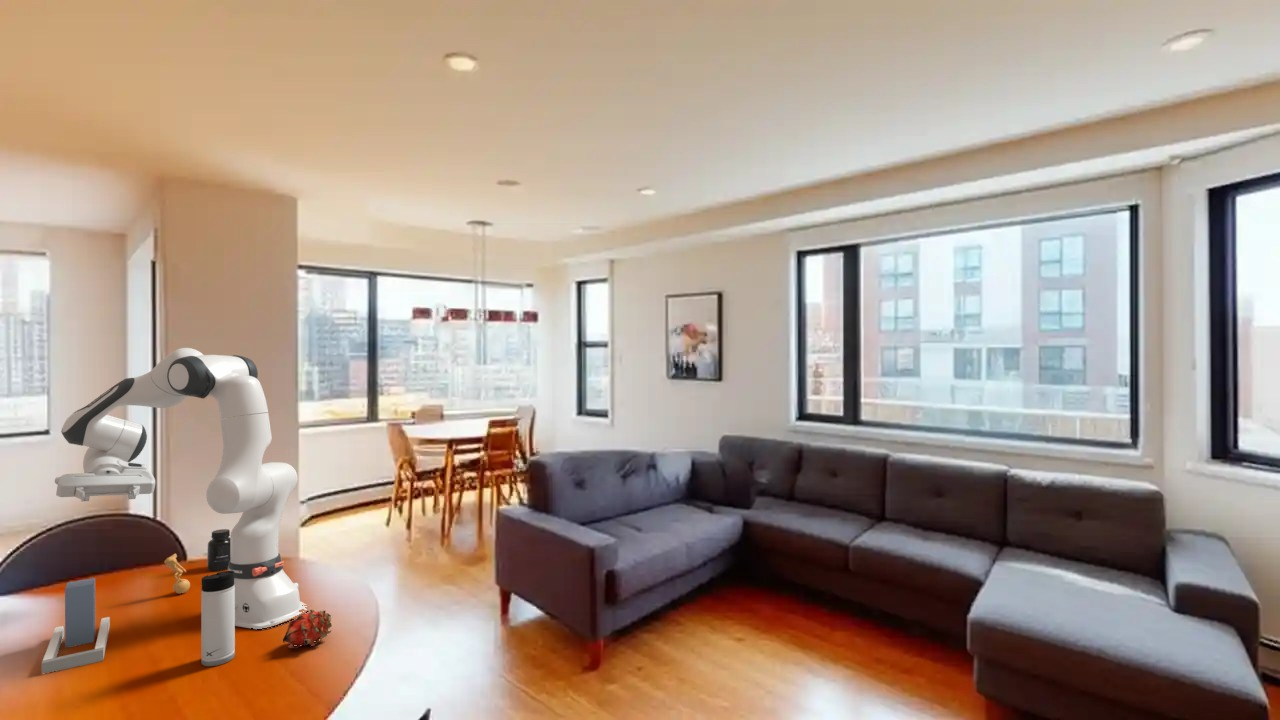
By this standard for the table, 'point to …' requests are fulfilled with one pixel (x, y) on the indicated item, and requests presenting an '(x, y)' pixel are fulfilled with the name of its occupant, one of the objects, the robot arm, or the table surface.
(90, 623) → the block
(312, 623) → the dragon fruit
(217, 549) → the supplement bottle
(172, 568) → the figurine
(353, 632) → the table surface
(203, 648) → the travel mug
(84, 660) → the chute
